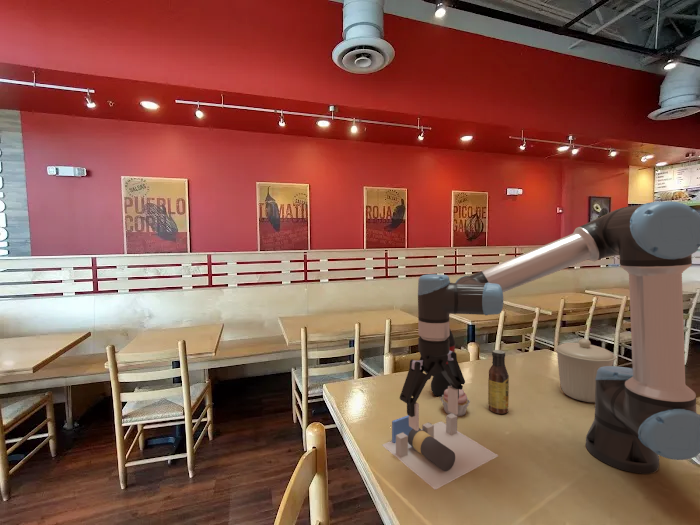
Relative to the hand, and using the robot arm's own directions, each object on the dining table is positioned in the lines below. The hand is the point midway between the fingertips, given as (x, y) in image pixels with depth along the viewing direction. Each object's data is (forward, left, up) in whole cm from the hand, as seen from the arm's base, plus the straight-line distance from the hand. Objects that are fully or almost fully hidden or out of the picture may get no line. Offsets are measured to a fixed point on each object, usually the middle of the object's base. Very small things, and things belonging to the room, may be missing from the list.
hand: (434, 419), depth 86 cm
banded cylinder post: (+2, 0, -11) cm, 11 cm away
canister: (-1, -74, -12) cm, 75 cm away
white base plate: (+3, -5, -12) cm, 13 cm away
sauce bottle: (+9, -39, -12) cm, 41 cm away
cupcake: (+15, -25, -12) cm, 31 cm away
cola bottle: (+27, -32, -12) cm, 43 cm away
